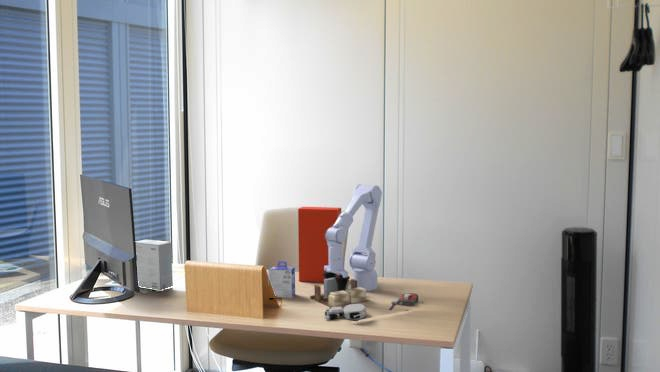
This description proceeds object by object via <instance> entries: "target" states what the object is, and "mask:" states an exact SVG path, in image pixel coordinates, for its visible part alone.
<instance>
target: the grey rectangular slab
mask: <svg viewBox="0 0 660 372" xmlns="http://www.w3.org/2000/svg"><path fill="white" fill-rule="evenodd" d="M347 289H349V281H348V282H347V285H346V288H345V290H347ZM336 291H338V285H337V281H336V279H335V277H334V278H328V279H324V282H323V294H324V297H328V295H330V293H331V292H336Z"/></svg>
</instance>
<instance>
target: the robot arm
mask: <svg viewBox="0 0 660 372" xmlns="http://www.w3.org/2000/svg"><path fill="white" fill-rule="evenodd" d="M382 195H383V192H382V190H381V188H380V186H379V185H377V184H375V185H371V184H362V183H359V184H357V185H356V186H355V187H354V189H353V197H352V198H351V200H350V202H349V204H348V206H347V208H346V209H345V211H344V212H341V214H340V215H339V217H338V219H337V220H336V222H335V223H334V225H333V227H331V228H329V229H328V230H327V231H326V235H325V238H326V240H327V245H328V246H329V265H326V266H324V271H326V272H323V275H324V277H325V279H328V278H334V277H335V279H336V281H337V285H338V291H342V290H343V291H345V288H346V285H347V282H348V283H349V280H351V279H350V276H349V271H347V270H345V268H344V242H346V240H347V234H348V230H349V229H350V227H351V225H352V224H353V223H354V215H355V214H356V213H357V212H358V211H359V209H360V208H361V207H362V206H364V207H363V208H364V209H365V211H364V214H363V219H362V225H361V231H360V235H359V239H358V245H357V246H356V247H354V248H353V249H352V251H351V252H352V253H351V254H350V257H349V260H348V263H349V266H350V267H351V270H352V271H353V279H354V280H357V288H359V287H361V288H364V289H366V292H369V291H370V292H371V291H373V290H378V272H377V270H375V267H376V265H377V264H376V252H375V251H374V250H373V248H372V245H373V240H374V235H375V229H376V225H377V220H378V215H379V214H378V213H379V208H380V205H381V201H382ZM336 274H337V275H340V276H338V277H336Z"/></svg>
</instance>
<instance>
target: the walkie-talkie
mask: <svg viewBox="0 0 660 372" xmlns="http://www.w3.org/2000/svg"><path fill="white" fill-rule="evenodd" d="M418 302H419V294H417V293H416V292H415V293H413V292H404V293H402V294H401V295H400V296H399V297H397V298H393V299H392V301H391V306H390V307H389V308H388V311H392V310H393V309H394V307H395V306H396V305H397V306H405V307H414V306H415V305H416V304H417V303H418Z"/></svg>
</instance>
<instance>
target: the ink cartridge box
mask: <svg viewBox="0 0 660 372" xmlns="http://www.w3.org/2000/svg"><path fill="white" fill-rule="evenodd" d="M287 263H288V261H281V260H280V261H278V262H277V266H271V267H270V268H268V281H269V280H270V283H271V285H272V287H273V290H274V292H275V295H276V296H277V297H276V298H288V299H292V298H294V297H295V296H296V268H295V267H293V266H291V267H290V266H287V265H288V264H287ZM282 264H283V265H282Z"/></svg>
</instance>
